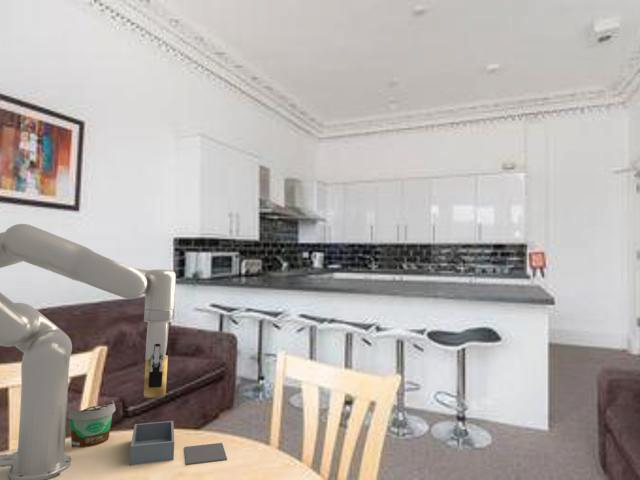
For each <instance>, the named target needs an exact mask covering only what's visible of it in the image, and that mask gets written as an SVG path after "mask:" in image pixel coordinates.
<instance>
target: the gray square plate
mask: <svg viewBox="0 0 640 480" xmlns="http://www.w3.org/2000/svg"><path fill="white" fill-rule="evenodd" d="M184 457H185V466H191V465H201V464H205V463H214V462H222V461H227V460H228V457H227V454H226V451H225V447H224V444H223V442H216V443H215V442H214V443H207V444H198V445H197V444H196V445H189V446H184Z"/></svg>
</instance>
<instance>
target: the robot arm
mask: <svg viewBox="0 0 640 480" xmlns="http://www.w3.org/2000/svg"><path fill="white" fill-rule="evenodd" d="M22 262H24V263H26V264H30V265H32V266H36V267H38V268H41V269H44V270H47V271H48V272H52V273H53V274H54V273H55V274H57V275H60V276H63V277H65V278H67V279H69V280H72V281H76V282H80V283H84V284H86V285H88V286H91V287H94V288H96V289H98V290H102V291H105V292H107V293H110V294H113V295H114V296H118V297H121V298H124V299H129V300H133V299H136V298H139V297H141V296H142V295H144V296H145V298H144V313H143V314H144V315H143V316H144V317H143V322H144V323H147V326H146V327H147V329H146V342H145V356H144V359H145V362H146V361H148V359H151V369H150V372H149V388H154V387H161V386H162V372H163V371H162V359H163V360H164V359H165V355H166V353H167V348H168V342H169V341H168V338H169V329H170V328H169V327H170V326H169V325H170V324H169V323H172V322H174V321H175V319H174V318H175V304H176V303H175V302H176V301H175V299H176V285H177V283H176V281H177V274H176V272H175V271H174V270H173V269H172V270H171V269H149V270H147V269H141V268H134V267H131V266H128V265H126V264H123V263H121V262H118V261H116V260H113V259H111V258H108V257H106V256H104V255H102V254H99V253H97V252H95V251H93V250H92V249H90V248H88V247H86V246H84V245H82V244H79V243H77V242H74V241H72V240H69V239H66V238H63V236H59V235H56V234H54V233H52V232H49V231H47V230H43V229H42V228H39V227H36V226H33V225H31V224H27V223H19V224H18V223H17V224H14V225H12V226H10V227H8V228H7V229H6V230H5V231H3V232H0V269H1V268H4V267H5V268H6V267H9V266H12V265H15V264H18V263H22ZM0 347H9V348H10V347H15V348H16V349H18V350H19V351H21V352H22V353H23V355H22V359H21V366H20V367H21V368H20V370H21V371H20V372H21V389H20V393H21V394H20V407H19V408H20V409H19V424H18V425H19V426H18V427H19V428H18V443H17V452H16V451H14V452H13V453H12V454H11V453H10V454H0V468H4V467H9V469H8V472H7V474H8V475H7V477H8V479H10V480H47V479H50V478H54V477H56V476H58V475H60V474H61V473H63V472H64V471H66V470H67V469H68V468H69V467H70V466H71V464H72V458H71V456H70V455H68V454H65V447H66V430H67V429H66V428H67V416H68V415H67V410H68V394H69V393H68V392H69V376H70V375H69V372H70V369H69V368H70V360H71V355H72V352H73V343H72V340H71V338H70V336H69V335H68V334H67V333H65V331H64V330H62V329H61V328H60V327H58V325H56V324H55V323H54V322H52V321H51V320H50V319H49V318H47V317H46V316H45V315H43V314H42V313H41V312H40V311H39V310H37V309H36V308H35V307H33V306H31V305H30V304H27V303H23V302H14V301H12V300H11V299H10V298H8V297H7V296H6V295H4V294H3V293H2V292H1V291H0ZM153 357H154V359H153ZM159 357H161V359H159ZM153 362H154V363H153ZM159 362H160V363H159ZM159 367H160V369H159ZM159 370H160V371H159Z"/></svg>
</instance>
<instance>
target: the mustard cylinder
mask: <svg viewBox="0 0 640 480" xmlns="http://www.w3.org/2000/svg"><path fill="white" fill-rule="evenodd" d="M168 358H169V355H165V359H164V360H163V359H162V371H163V372H162V386H161V387H154V388H149V372H150V369H151V359H148V361H146V360H145V364H144V365H145V367H144V381H143V382H144V384H143V388H144V389H143V396H144V398H147V399H148V398H151V399H152V398H153V399H156V398H161V397H163V396H166V394H167V378H168V377H167V376H168V361H169V359H168ZM153 359H154V357H153ZM159 359H161V357H159ZM153 363H154V362H153ZM159 363H160V362H159ZM159 369H160V367H159ZM159 371H160V370H159Z"/></svg>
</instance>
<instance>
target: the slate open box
mask: <svg viewBox="0 0 640 480" xmlns="http://www.w3.org/2000/svg"><path fill="white" fill-rule="evenodd" d="M174 423H175V422H174V420H167V421H155V422H148V423H147V422H145V423H135V424H134V427H133V432H132V437H131V442H130V450H129V451H130V453H129V454H130V457H129V466H135V465H143V464H151V463H159V462H169V461H174V458H175V455H174V454H175V426H174V425H175V424H174Z"/></svg>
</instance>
